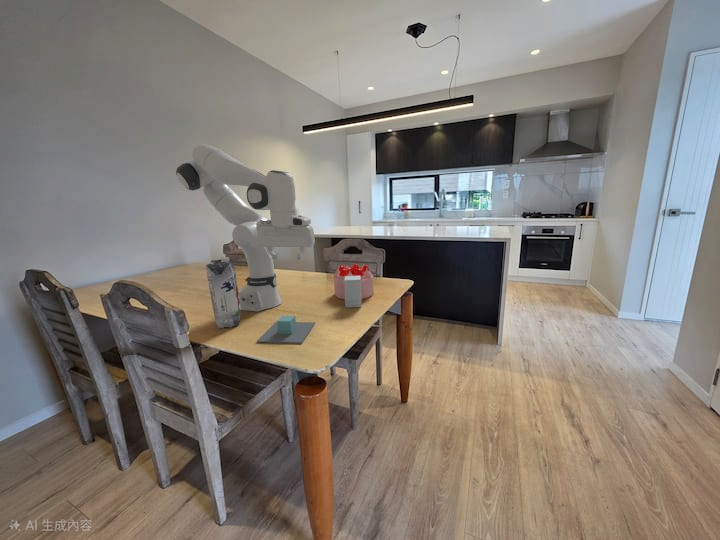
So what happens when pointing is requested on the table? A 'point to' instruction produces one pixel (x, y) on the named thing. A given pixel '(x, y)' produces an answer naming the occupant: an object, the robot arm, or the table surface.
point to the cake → (364, 272)
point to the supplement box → (352, 291)
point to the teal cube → (286, 324)
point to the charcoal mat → (294, 338)
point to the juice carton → (224, 292)
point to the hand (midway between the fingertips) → (287, 259)
